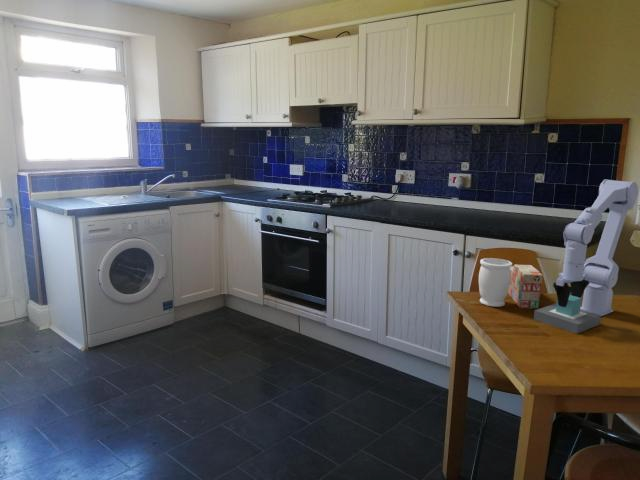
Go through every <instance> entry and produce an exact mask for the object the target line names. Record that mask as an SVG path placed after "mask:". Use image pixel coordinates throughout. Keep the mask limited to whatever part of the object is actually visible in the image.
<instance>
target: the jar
mask: <svg viewBox="0 0 640 480" xmlns="http://www.w3.org/2000/svg"><path fill="white" fill-rule="evenodd" d="M479 263H480V268H479V273H478V287H479V288H478V290H479V294H480V299H479V302H480V303H481V304H482V305H484V306H488V307H494V308H495V307H497V308H499V307H503V306H505V304H506V301H505V299H506V298H507V295H508V289H509V286H510V281H511V271H510V267H511V266H513V262H511V261H510V260H507V259H503V258H502V259H501V258H496V257H495V258H494V257H485V258H481V259H480V261H479Z"/></svg>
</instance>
